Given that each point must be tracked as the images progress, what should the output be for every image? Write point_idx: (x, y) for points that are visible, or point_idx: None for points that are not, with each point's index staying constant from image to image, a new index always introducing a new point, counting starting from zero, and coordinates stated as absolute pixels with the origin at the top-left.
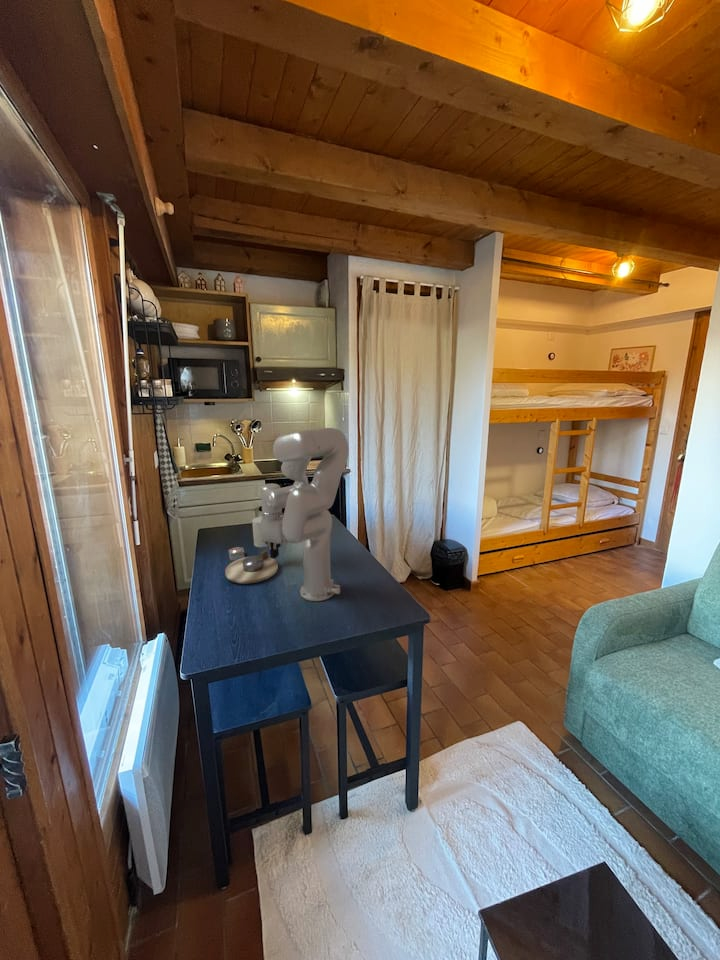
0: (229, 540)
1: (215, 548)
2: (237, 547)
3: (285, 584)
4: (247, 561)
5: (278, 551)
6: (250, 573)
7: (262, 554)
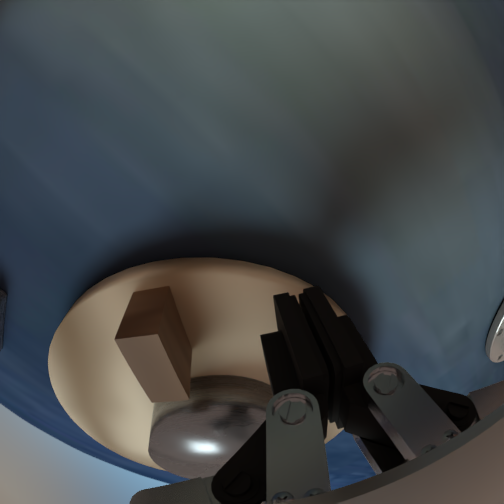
0: None
1: None
2: None
3: (431, 353)
4: (205, 471)
5: (361, 338)
6: None
7: (188, 393)
